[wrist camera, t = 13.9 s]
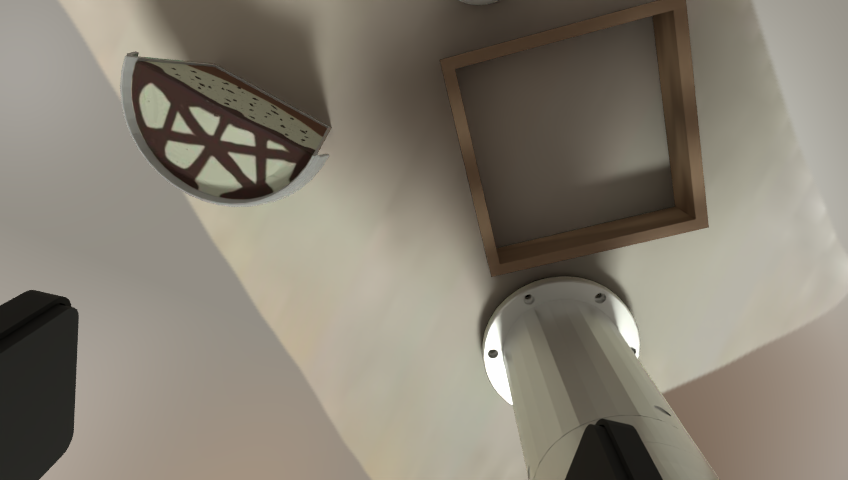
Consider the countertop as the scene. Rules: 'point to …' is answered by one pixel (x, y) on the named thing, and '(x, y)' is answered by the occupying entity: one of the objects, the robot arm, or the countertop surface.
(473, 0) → the beverage can
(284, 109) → the food container
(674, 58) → the walnut box
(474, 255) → the countertop surface
